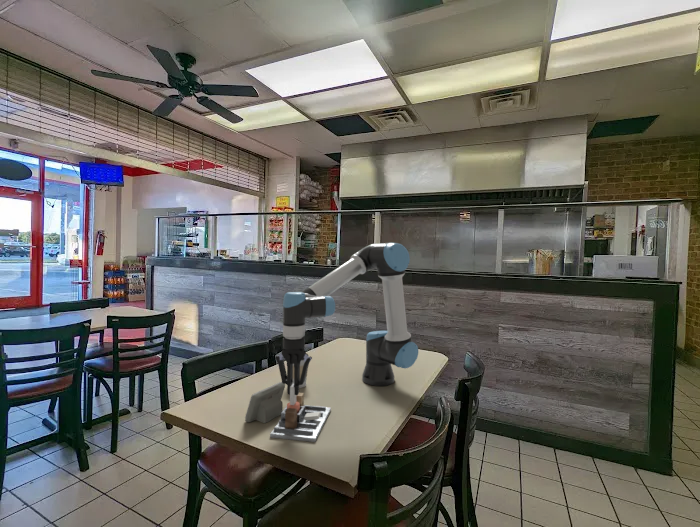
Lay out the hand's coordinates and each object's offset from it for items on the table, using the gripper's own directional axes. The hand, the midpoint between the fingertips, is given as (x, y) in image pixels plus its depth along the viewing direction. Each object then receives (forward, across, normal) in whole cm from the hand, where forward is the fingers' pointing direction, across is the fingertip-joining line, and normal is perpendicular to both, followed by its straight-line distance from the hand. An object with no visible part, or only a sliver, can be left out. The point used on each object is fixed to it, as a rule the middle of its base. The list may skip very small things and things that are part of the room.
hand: (293, 403), depth 120 cm
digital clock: (+7, +11, -3) cm, 14 cm away
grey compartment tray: (+7, -4, 0) cm, 8 cm away
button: (+3, 0, 0) cm, 3 cm away
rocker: (+4, -7, 0) cm, 8 cm away
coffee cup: (+7, +9, -33) cm, 35 cm away
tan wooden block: (+5, 0, -7) cm, 8 cm away
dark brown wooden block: (+5, -2, +6) cm, 8 cm away
